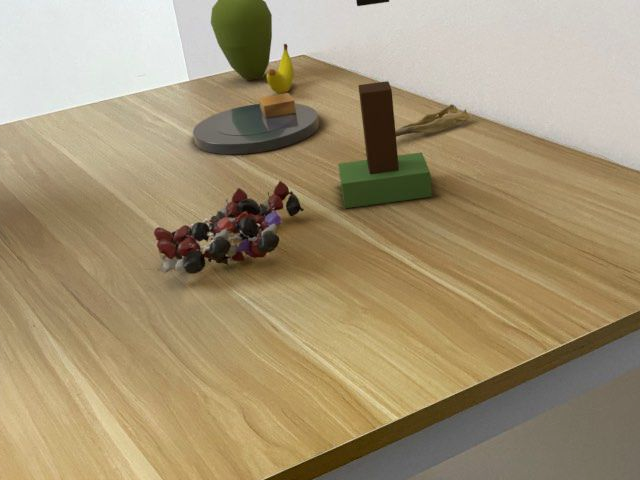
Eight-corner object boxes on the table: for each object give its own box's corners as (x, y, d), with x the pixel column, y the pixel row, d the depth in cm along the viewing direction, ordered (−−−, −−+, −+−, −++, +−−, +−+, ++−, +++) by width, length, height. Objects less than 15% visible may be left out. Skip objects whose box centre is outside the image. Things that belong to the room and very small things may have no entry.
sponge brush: (345, 208, 82) (330, 102, 76) (341, 187, 87) (327, 84, 80) (431, 196, 83) (424, 89, 76) (423, 176, 87) (416, 72, 80)
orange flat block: (265, 118, 103) (263, 105, 102) (260, 110, 106) (258, 97, 105) (296, 113, 103) (294, 100, 102) (290, 104, 106) (288, 92, 105)
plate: (190, 161, 97) (187, 150, 96) (199, 121, 109) (196, 111, 108) (321, 144, 98) (320, 133, 97) (316, 105, 109) (315, 95, 108)
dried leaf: (384, 133, 92) (386, 151, 94) (473, 105, 97) (473, 122, 99) (364, 124, 95) (366, 141, 96) (451, 96, 100) (452, 114, 101)
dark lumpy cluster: (316, 266, 71) (305, 211, 69) (156, 295, 71) (138, 241, 68) (305, 221, 83) (296, 173, 81) (168, 246, 83) (154, 198, 80)
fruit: (285, 81, 119) (278, 43, 116) (298, 80, 119) (292, 42, 116) (269, 103, 112) (261, 62, 109) (283, 102, 112) (276, 61, 108)
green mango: (213, 86, 121) (193, -5, 113) (246, 70, 126) (228, -18, 118) (260, 89, 118) (242, -5, 110) (292, 72, 123) (277, -18, 115)
